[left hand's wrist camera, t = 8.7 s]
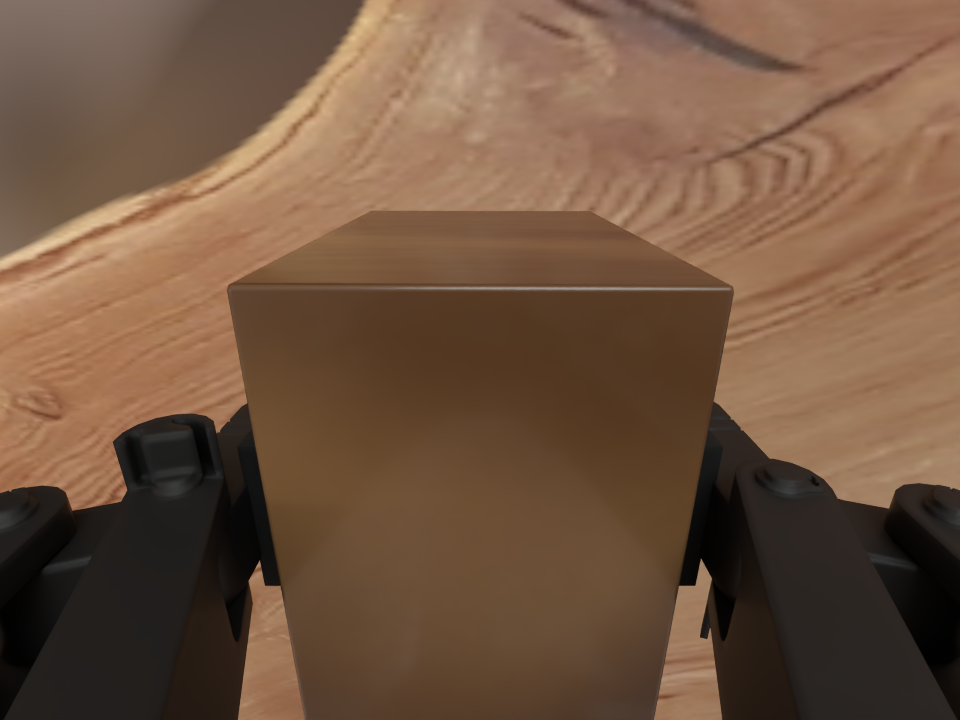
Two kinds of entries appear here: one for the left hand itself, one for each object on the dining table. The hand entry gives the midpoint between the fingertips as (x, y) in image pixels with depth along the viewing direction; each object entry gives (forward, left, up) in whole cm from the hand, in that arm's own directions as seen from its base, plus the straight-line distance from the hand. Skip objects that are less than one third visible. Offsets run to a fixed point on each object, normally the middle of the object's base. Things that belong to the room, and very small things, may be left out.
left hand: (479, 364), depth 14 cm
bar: (-7, +4, -1) cm, 8 cm away
